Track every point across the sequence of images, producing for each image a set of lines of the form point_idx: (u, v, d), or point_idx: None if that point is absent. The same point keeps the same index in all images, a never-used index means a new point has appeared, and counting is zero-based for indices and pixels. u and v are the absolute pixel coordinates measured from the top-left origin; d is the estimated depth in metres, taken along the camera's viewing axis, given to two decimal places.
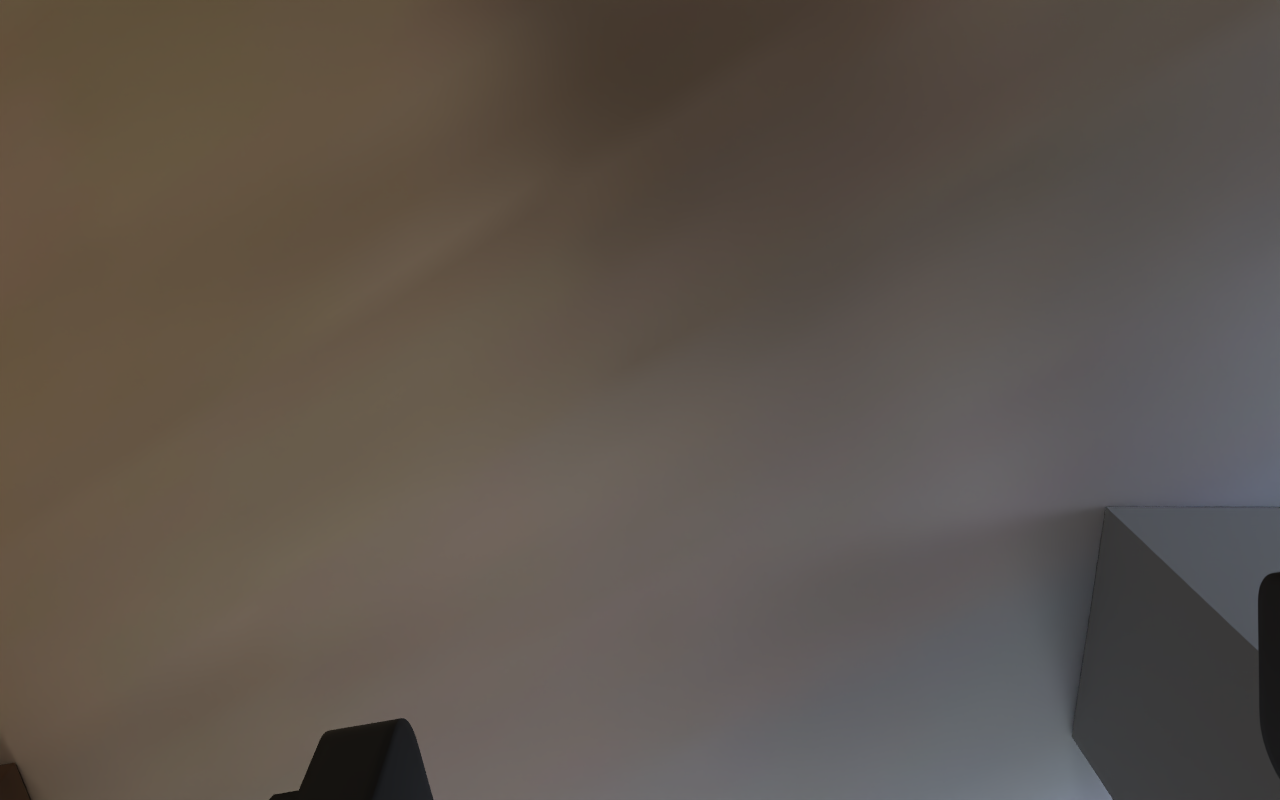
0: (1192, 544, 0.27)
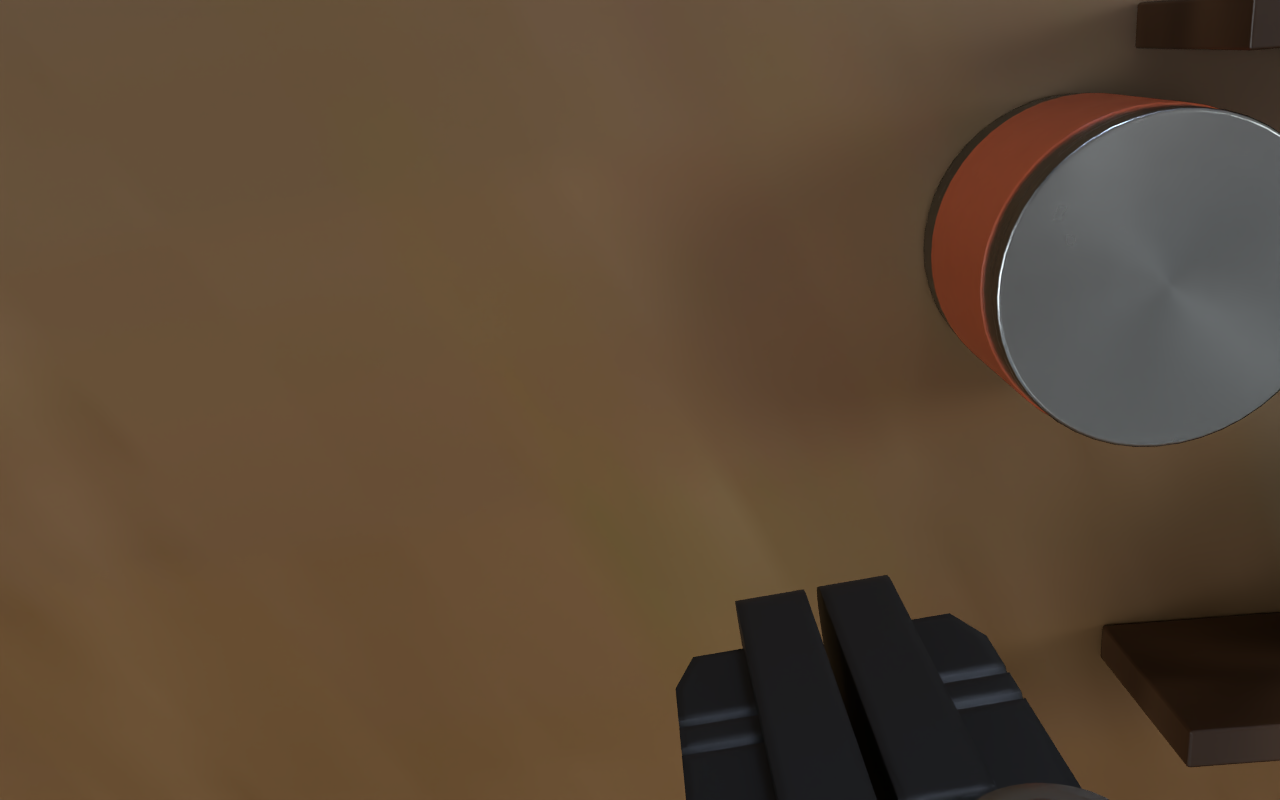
0: None
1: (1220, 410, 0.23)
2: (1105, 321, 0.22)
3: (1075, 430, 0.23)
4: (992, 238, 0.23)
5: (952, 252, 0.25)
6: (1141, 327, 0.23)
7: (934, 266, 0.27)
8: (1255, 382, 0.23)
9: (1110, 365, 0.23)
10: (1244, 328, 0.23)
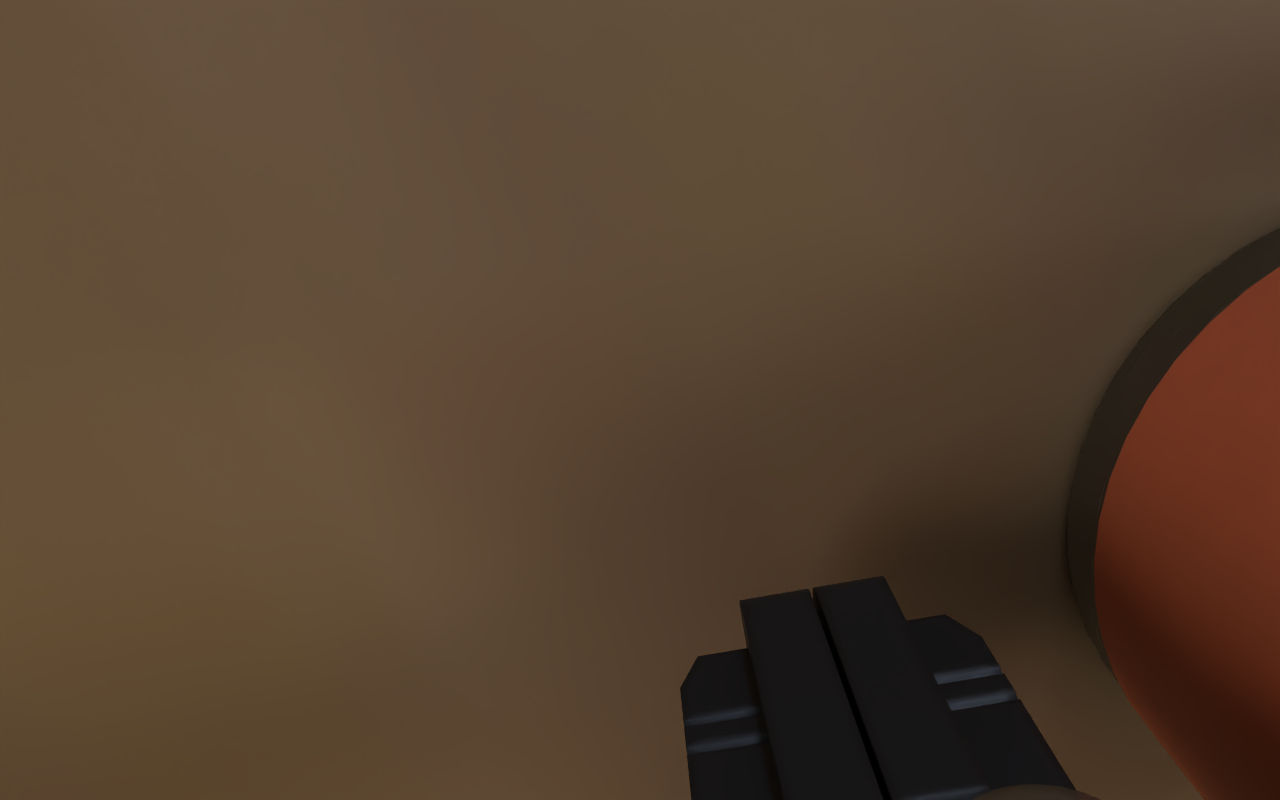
0: None
1: None
2: None
3: None
4: None
5: (1176, 607, 0.10)
6: None
7: (1105, 592, 0.11)
8: None
9: None
10: None
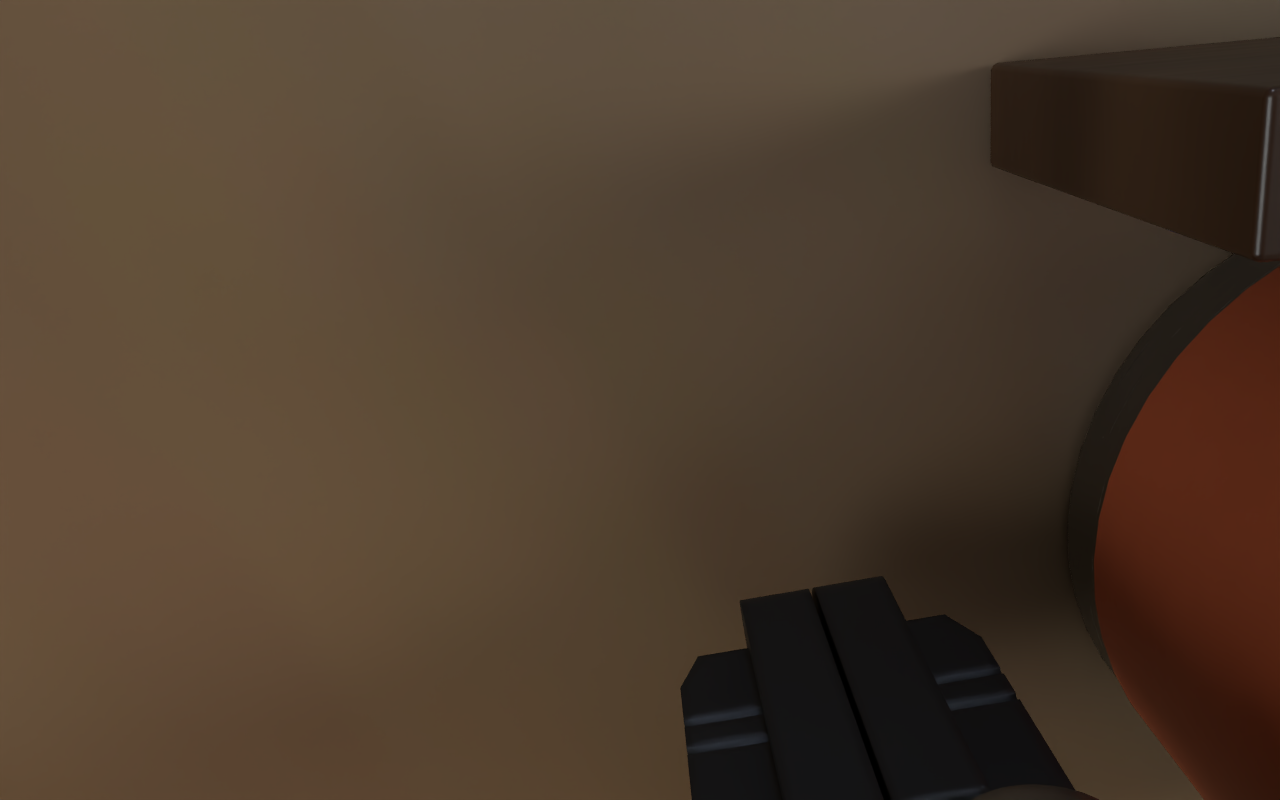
0: None
1: None
2: None
3: None
4: None
5: (1174, 606, 0.10)
6: None
7: (1104, 591, 0.11)
8: None
9: None
10: None
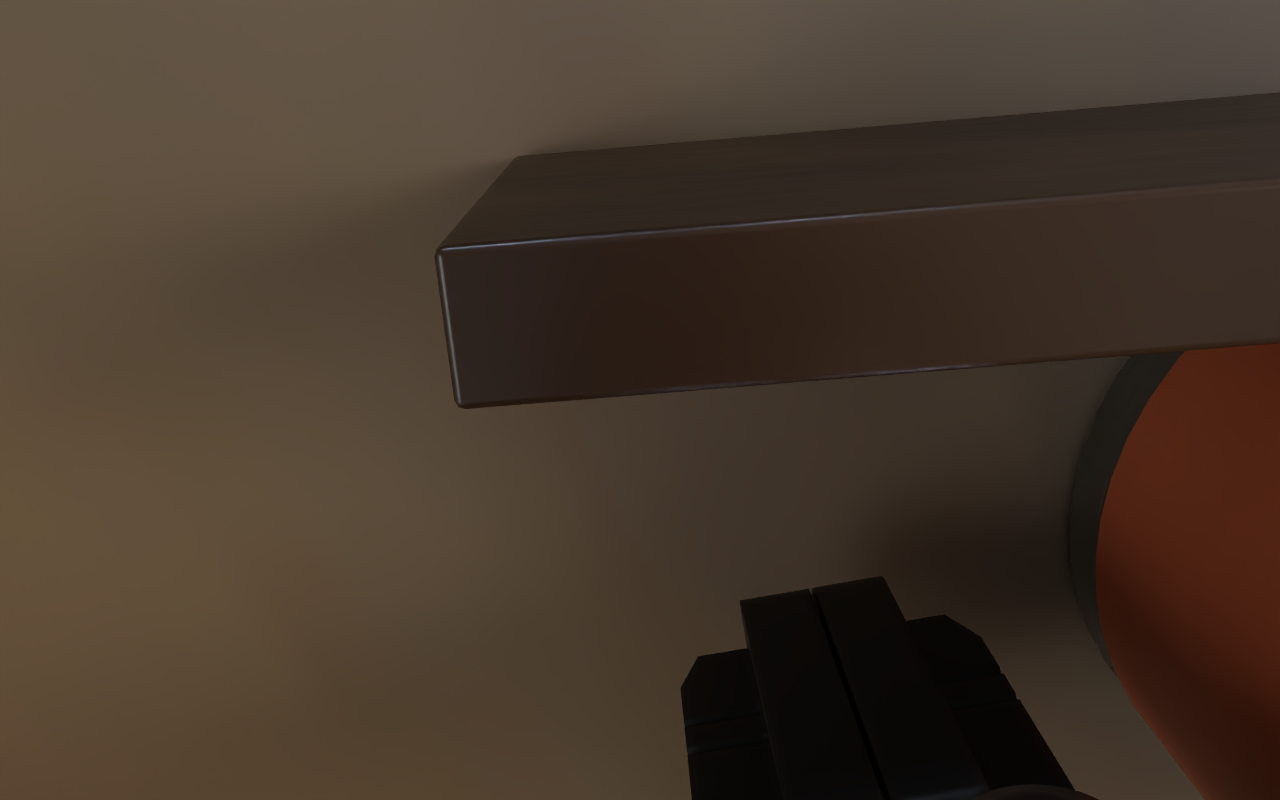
0: None
1: None
2: None
3: None
4: None
5: (1175, 606, 0.10)
6: None
7: (1106, 591, 0.11)
8: None
9: None
10: None
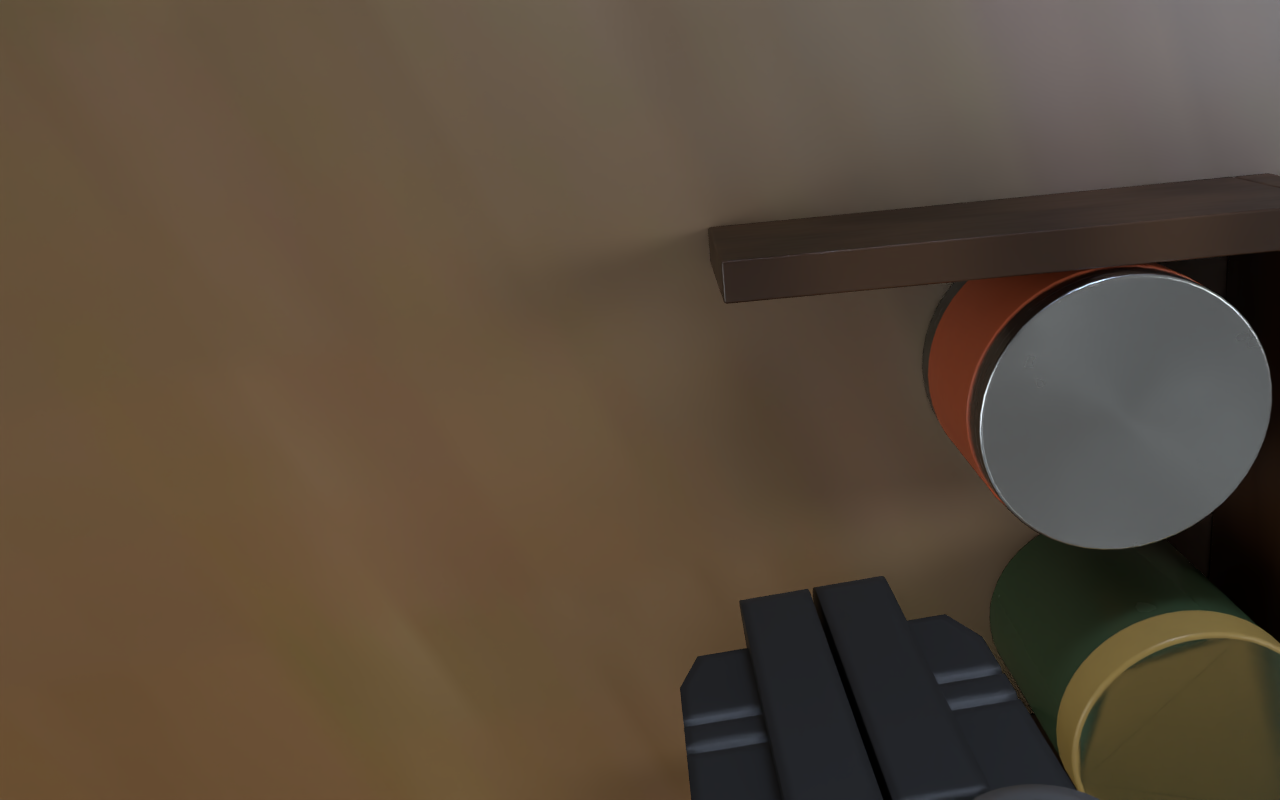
0: None
1: (1174, 519, 0.27)
2: (1072, 448, 0.27)
3: (1050, 537, 0.27)
4: (975, 378, 0.27)
5: (944, 380, 0.29)
6: (1103, 452, 0.27)
7: (931, 386, 0.31)
8: (1202, 496, 0.27)
9: (1078, 484, 0.27)
10: (1192, 452, 0.27)
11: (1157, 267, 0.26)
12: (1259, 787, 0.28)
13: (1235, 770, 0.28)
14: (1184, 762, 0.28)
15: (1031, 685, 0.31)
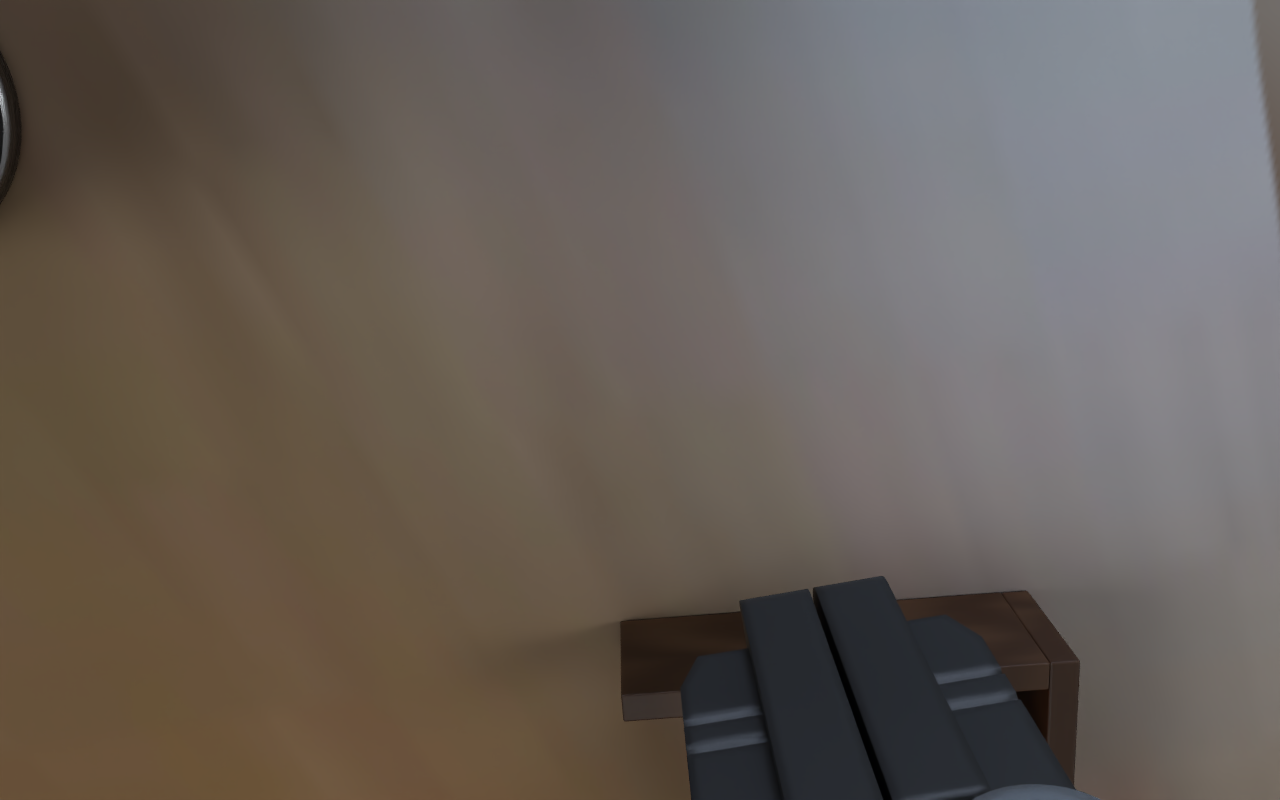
0: None
1: None
2: None
3: None
4: None
5: None
6: None
7: None
8: None
9: None
10: None
11: None
12: None
13: None
14: None
15: None
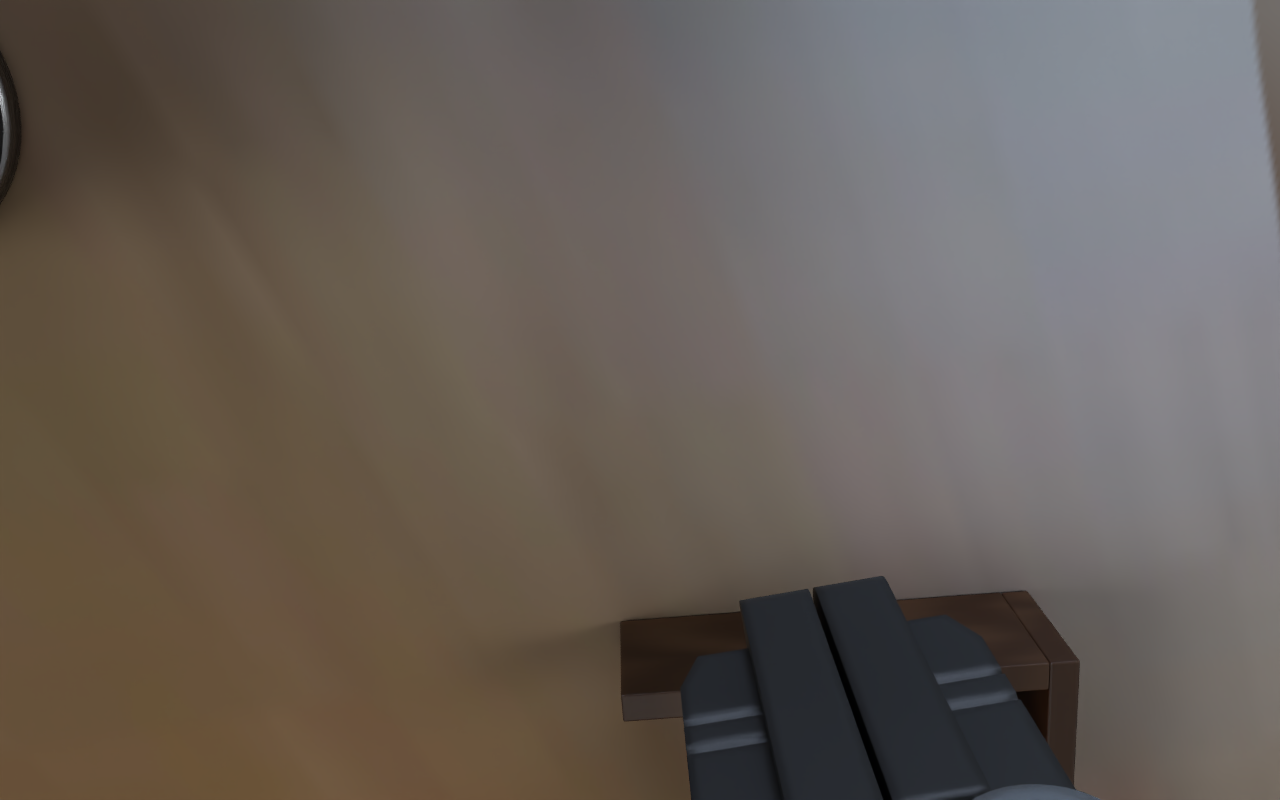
0: None
1: None
2: None
3: None
4: None
5: None
6: None
7: None
8: None
9: None
10: None
11: None
12: None
13: None
14: None
15: None
